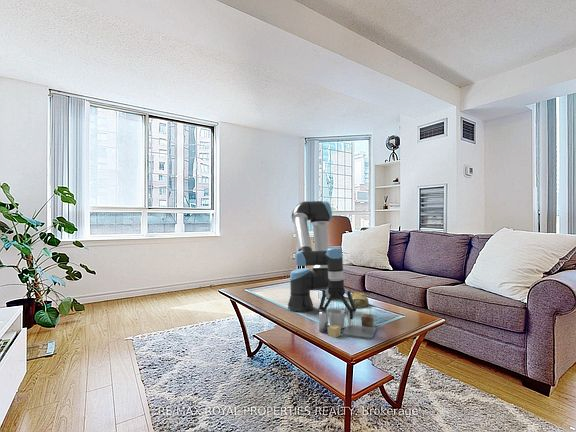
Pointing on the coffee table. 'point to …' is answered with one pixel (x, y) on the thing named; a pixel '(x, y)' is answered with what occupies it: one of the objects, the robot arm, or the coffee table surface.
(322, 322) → the grey peg
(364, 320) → the walnut block
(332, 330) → the ochre block
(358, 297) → the pastry
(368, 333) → the coaster
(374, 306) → the coffee table surface
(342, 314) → the cup
